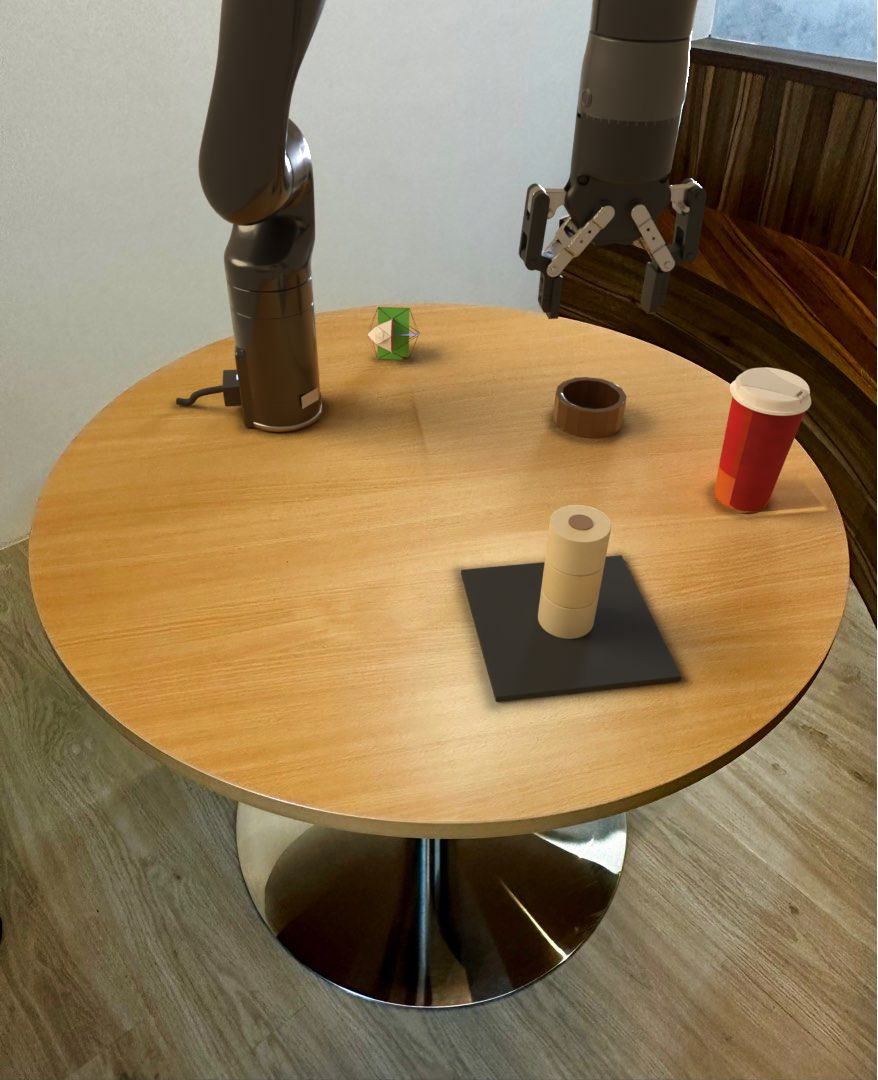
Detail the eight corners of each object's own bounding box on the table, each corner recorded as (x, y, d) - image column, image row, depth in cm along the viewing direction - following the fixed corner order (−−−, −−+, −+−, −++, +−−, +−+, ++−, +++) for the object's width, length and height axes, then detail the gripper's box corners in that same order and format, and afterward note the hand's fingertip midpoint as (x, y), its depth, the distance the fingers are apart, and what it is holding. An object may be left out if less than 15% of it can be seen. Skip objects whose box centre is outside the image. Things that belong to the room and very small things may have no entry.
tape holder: (563, 444, 103) (566, 414, 100) (545, 407, 109) (548, 379, 107) (630, 439, 104) (635, 409, 101) (609, 403, 110) (613, 375, 108)
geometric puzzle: (371, 322, 122) (366, 292, 114) (421, 324, 122) (419, 294, 114) (368, 370, 120) (363, 344, 112) (419, 372, 120) (417, 345, 112)
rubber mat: (495, 701, 72) (496, 697, 72) (460, 574, 85) (461, 569, 84) (680, 681, 75) (682, 676, 74) (620, 559, 87) (621, 554, 86)
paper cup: (789, 498, 95) (828, 382, 87) (756, 530, 91) (793, 412, 82) (723, 469, 99) (754, 356, 91) (689, 498, 95) (717, 383, 86)
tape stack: (545, 641, 77) (559, 543, 70) (531, 603, 81) (543, 506, 74) (600, 636, 78) (619, 538, 71) (584, 597, 82) (600, 501, 75)
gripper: (702, 89, 68) (664, 290, 78) (522, 92, 66) (507, 298, 76) (743, 114, 62) (696, 328, 73) (547, 119, 60) (527, 337, 71)
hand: (599, 312), depth 74 cm, fingers open, 8 cm apart
